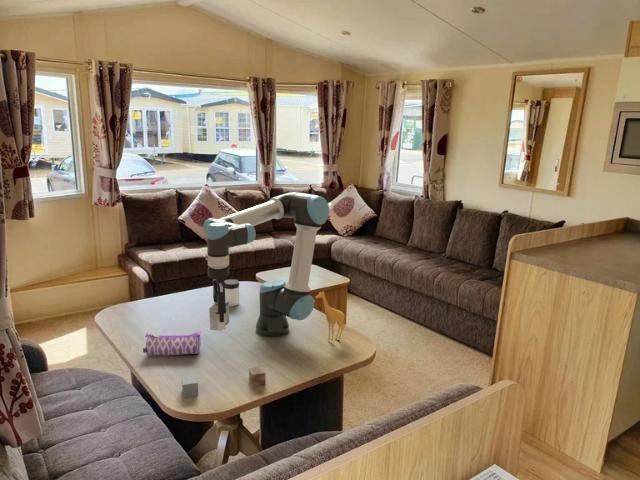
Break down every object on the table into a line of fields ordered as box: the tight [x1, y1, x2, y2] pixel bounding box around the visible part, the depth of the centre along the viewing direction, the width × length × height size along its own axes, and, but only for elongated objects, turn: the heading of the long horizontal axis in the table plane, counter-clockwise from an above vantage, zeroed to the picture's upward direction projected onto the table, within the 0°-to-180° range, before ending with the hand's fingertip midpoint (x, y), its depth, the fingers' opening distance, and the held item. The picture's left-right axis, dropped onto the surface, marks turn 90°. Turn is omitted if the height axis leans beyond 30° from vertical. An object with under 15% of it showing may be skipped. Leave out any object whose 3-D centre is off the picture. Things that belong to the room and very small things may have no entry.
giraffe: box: [314, 290, 346, 341], centre depth 205 cm, size 16×4×25 cm, turn 125°
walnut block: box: [248, 365, 266, 388], centre depth 175 cm, size 5×5×5 cm
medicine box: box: [208, 301, 230, 332], centre depth 175 cm, size 8×4×9 cm, turn 168°
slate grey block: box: [181, 375, 199, 398], centre depth 167 cm, size 5×5×5 cm
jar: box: [224, 278, 240, 307], centre depth 247 cm, size 9×8×12 cm
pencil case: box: [142, 331, 202, 357], centre depth 194 cm, size 22×9×9 cm, turn 98°
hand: (219, 324), depth 176 cm, fingers closed on medicine box, 9 cm apart
